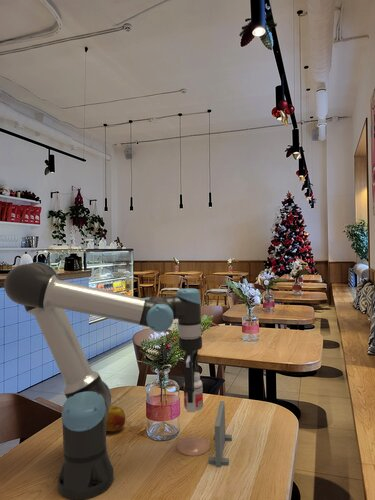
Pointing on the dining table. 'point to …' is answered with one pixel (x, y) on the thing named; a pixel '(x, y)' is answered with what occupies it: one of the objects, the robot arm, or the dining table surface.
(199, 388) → the pill bottle
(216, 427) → the screen
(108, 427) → the fruit
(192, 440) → the coaster
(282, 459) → the dining table surface
